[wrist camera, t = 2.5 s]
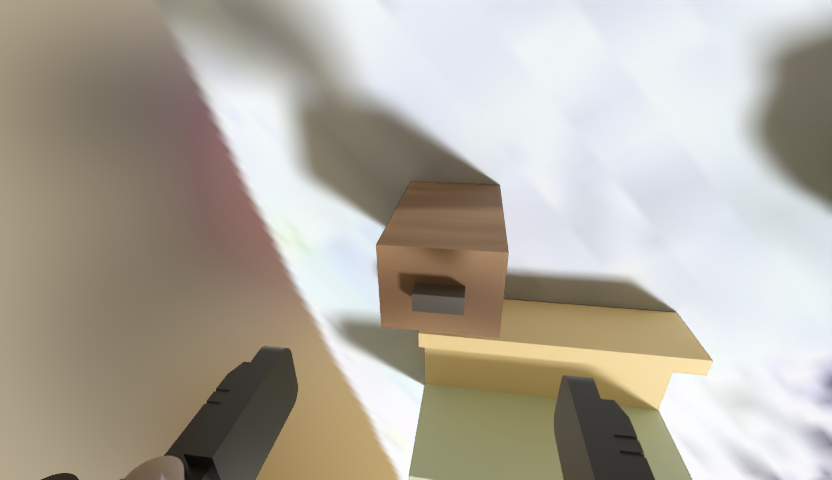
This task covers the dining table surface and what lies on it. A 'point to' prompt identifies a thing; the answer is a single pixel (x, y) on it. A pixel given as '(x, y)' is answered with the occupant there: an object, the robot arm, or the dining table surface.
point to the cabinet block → (444, 260)
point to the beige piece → (546, 388)
